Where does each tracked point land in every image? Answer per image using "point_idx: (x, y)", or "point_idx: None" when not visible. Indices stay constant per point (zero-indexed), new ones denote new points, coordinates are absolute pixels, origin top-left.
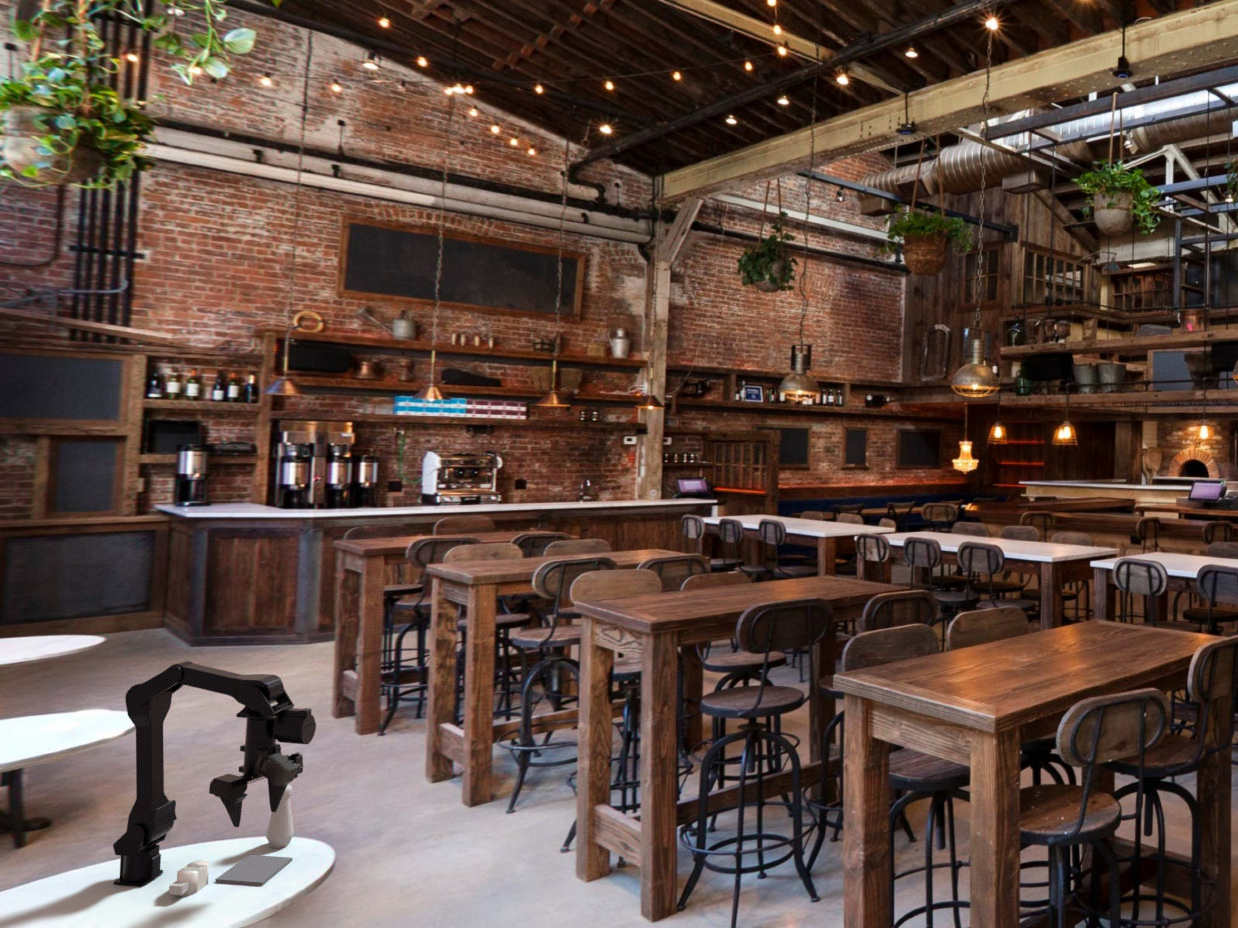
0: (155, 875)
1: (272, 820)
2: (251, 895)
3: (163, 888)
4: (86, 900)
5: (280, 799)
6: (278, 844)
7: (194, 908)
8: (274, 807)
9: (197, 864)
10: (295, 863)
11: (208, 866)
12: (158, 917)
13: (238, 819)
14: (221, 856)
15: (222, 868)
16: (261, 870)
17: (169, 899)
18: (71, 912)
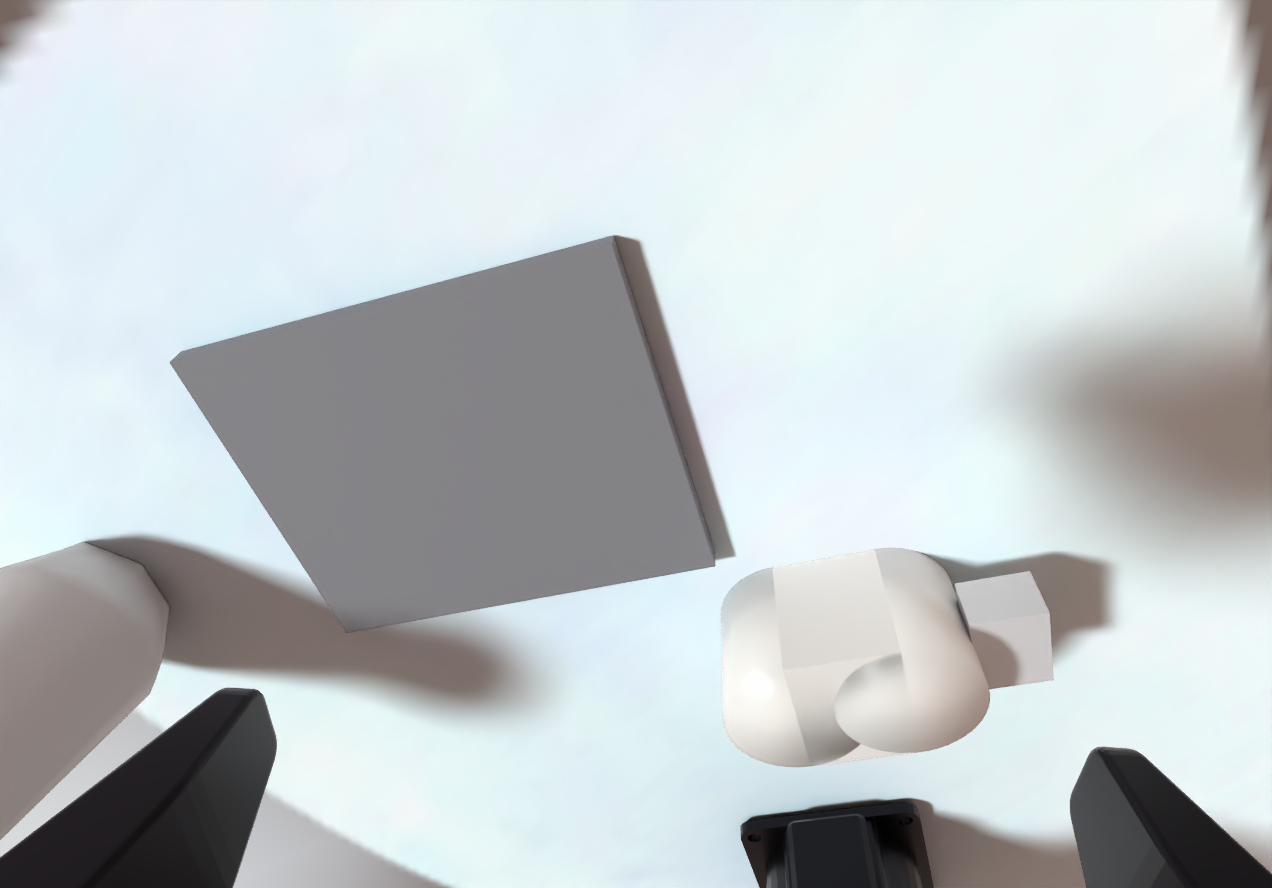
0: (830, 821)
1: (59, 756)
2: (791, 177)
3: None
4: None
5: (21, 858)
6: (131, 577)
7: (1103, 398)
8: (224, 764)
9: (799, 720)
10: (194, 291)
11: (762, 658)
12: (1269, 499)
13: (1244, 875)
14: (440, 734)
15: (549, 638)
16: (460, 404)
17: None
18: None
